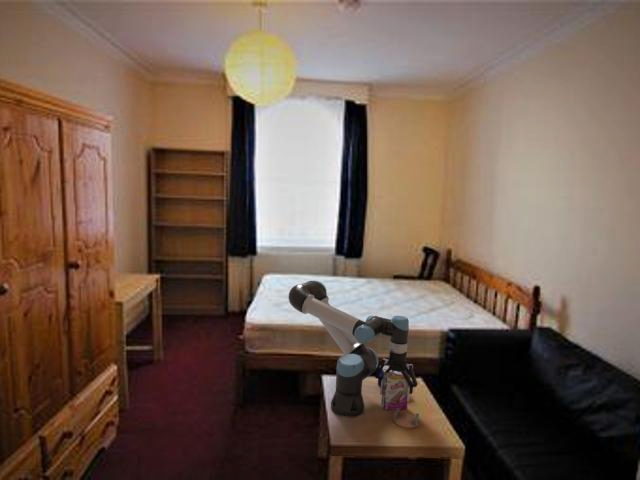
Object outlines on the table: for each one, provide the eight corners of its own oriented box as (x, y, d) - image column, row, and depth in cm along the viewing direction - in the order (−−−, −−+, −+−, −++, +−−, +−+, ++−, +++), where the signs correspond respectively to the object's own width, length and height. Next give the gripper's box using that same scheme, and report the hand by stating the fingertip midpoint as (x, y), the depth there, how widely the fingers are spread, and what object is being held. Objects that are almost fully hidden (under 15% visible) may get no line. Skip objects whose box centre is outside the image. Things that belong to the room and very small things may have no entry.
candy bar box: (383, 411, 189) (386, 376, 187) (380, 405, 194) (383, 371, 192) (407, 410, 191) (410, 375, 189) (404, 404, 195) (406, 370, 194)
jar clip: (391, 424, 179) (392, 416, 178) (397, 413, 188) (397, 406, 187) (415, 430, 175) (415, 422, 174) (419, 419, 184) (420, 411, 183)
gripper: (370, 348, 190) (367, 393, 193) (423, 359, 181) (419, 407, 183) (374, 343, 197) (371, 387, 200) (426, 353, 188) (422, 399, 190)
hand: (394, 396), depth 192 cm, fingers closed on candy bar box, 12 cm apart
